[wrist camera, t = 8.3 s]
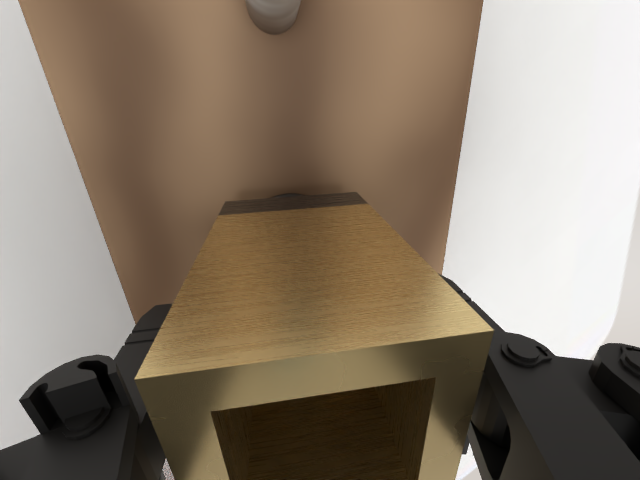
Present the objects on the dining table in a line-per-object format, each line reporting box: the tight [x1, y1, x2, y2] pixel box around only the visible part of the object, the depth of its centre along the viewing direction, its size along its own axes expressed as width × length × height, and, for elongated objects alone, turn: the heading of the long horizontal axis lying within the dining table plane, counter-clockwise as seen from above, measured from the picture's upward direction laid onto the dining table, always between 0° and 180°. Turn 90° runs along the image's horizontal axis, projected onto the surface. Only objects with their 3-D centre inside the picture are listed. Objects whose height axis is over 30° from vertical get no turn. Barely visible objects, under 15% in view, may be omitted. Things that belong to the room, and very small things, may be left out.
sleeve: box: [134, 192, 494, 480], centre depth 9 cm, size 5×5×8 cm
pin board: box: [18, 0, 483, 324], centre depth 11 cm, size 16×18×7 cm
